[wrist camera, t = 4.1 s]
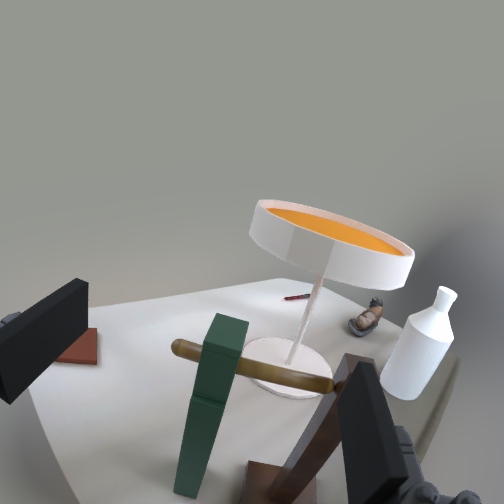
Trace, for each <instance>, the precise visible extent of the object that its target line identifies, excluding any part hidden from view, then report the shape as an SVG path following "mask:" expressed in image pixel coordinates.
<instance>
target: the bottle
mask: <svg viewBox="0 0 504 504" xmlns="http://www.w3.org/2000/svg"><path fill="white" fill-rule="evenodd" d="M456 297H457V294H456V293H455V292H454V291H452V290H450V289H448V288H446V287H442V286H440V287H439V289H438V291H437V297H436V299H435V301H434V304H433V306H431V307H429V308H427V309H425V310H423V311H420V312H418V313H415V314H412V315H410V316H409V317H408V319H407V322H406V324H405V326H404V328H403V330H402V333H401V335H400V337H399V339H398V341H397V343H396V345H395V347H394V349H393V351H392V353H391V355H390V357H389V359H388V361H387V363H386V365H385V367H384V369H383V371H382V373H381V374H380V383H381V385H382V387H383V388H384V389H385V390H386V391H387V392H388V393H390V394H391V395H393V396H394V397H397V398H399V399H402V400H414V399H416V398H417V397H418V396H419V395H420V393H421V392H422V390H423V389H424V387H425V386H426V384H427V383H428V381H429V380H430V378H431V376H432V375H433V373H434V372H435V370H436V368H437V367H438V365H439V363H440V362H441V360H442V358H443V357H444V355H445V353H446V352H447V350H448V348H449V346H450V344H451V343H452V341H453V339H454V337H453V333H452V330H451V327H450V322H449V318H448V314H447V313H448V311H449V308H450V307H451V304H452V302H453V301H455V299H456Z"/></svg>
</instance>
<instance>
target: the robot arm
mask: <svg viewBox="0 0 504 504" xmlns="http://www.w3.org/2000/svg"><path fill="white" fill-rule="evenodd" d="M87 330H88V282H85V281H83V280H80V279H78V278H75V279H74V280H72V281H71V282H69V283H67V284H66V285H64V286H63V287H61V288H60V289H58V290H56V291H55V292H53V293H52V294H50V295H49V296H47V297H46V298H44V299H42V300H41V301H39V302H38V303H36V304H35V305H33V306H32V307H30V308H29V309H27V310H26V311H24V312H23V313H20V312H17V313H13V314H10V315H8V316H7V317H5V318H3V319H2V320H1V321H0V398H1V399H2V400H4V401H5V402H6V403H8V404H9V405H10V404H11V403H12V402H13V401H14V400H15V399H16V398H17V397H18V396H19V395H20V394H21V393H22V392H23V391H24V390H25V389H26V388H27V387H28V386H29V385H30V384H31V383H32V382H33V381H34V380H35V379H36V378H37V377H38V376H39V375H41V374H42V373H43V372H44V371H45V370H46V369H47V368H48V367H49V366H50V365H51V364H52V363H53V362H54V361H55V360H56V359H57V358H58V357H59V356H60V355H61V354H62V353H63V352H64V351H66V350H67V349H68V348H69V347H70V346H71V345H72V344H73V343H74V342H75V341H76V340H77V339H78V338H79V337H81V336H82V335H83V334H84V333H85V332H86V331H87ZM336 405H337V412H338V419H339V426H340V433H341V441H342V448H343V456H344V465H345V473H346V483H347V492H348V502H349V504H481V500H480V498H479V496H478V495H477V494H475V493H474V492H472V491H467V490H465V491H462V492H461V493H460V494H458V495H457V496H456V497H450V496H445V495H440V494H439V492H438V490H437V488H436V487H435V486H434V485H432V484H431V483H429V482H426V481H425V480H424V477H423V474H422V471H421V467H420V464H419V461H418V458H417V455H416V454H415V449H414V447H413V443H412V440H411V437H410V435H409V433H408V432H407V431H406V430H405V428H404V427H403V426H394V423H393V420H392V417H391V414H390V411H389V408H388V405H387V402H386V399H385V396H384V393H383V390H382V387H381V384H380V381H379V378H378V375H377V373H376V370H375V367H374V364H373V363H369V362H364V361H358V363H357V365H356V367H355V369H354V371H353V373H352V375H351V377H350V379H349V380H348V382H347V384H346V386H345V388H344V390H343V392H342V393H341V395H340V397H339V399H338V401H337V402H336Z"/></svg>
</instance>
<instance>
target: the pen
mask: <svg viewBox="0 0 504 504" xmlns="http://www.w3.org/2000/svg"><path fill="white" fill-rule="evenodd" d="M310 295H311V294H305V295H300V296H292V297H285V298H284V299H285V300H292V299H299V298H305V297H310ZM294 297H297V298H294ZM287 298H290V299H287Z"/></svg>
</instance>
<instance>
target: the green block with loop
mask: <svg viewBox="0 0 504 504" xmlns="http://www.w3.org/2000/svg"><path fill="white" fill-rule="evenodd" d="M248 325H249V322H247V321H243V320H240V319H236V318H233V317H229V316H226V315H222V314H219V313H216V315H215V317H214V320H213V322H212V324H211V326H210V328H209V330H208V332H207V335H206V337H205V339H204V341H203V346H202V350H201V355H200V360H199V365H198V369H197V374H196V379H195V384H194V389H193V393H192V396H191V399H190V404H189V409H188V414H187V419H186V424H185V430H184V435H183V440H182V446H181V451H180V456H179V462H178V467H177V473H176V479H175V484H174V490H173V492H174V493H177V494H181V495H184V496H187V497H191V498H194V499H196V498H197V494H198V491H199V488H200V485H201V482H202V479H203V476H204V473H205V470H206V467H207V463H208V460H209V457H210V454H211V451H212V448H213V445H214V441H215V438H216V435H217V432H218V429H219V425H220V422H221V419H222V416H223V413H224V409H225V406H226V402H227V399H228V396H229V392H230V389H231V386H232V383H233V379H234V376H235V373H236V369H237V366H238V363H239V359H240V356H241V353H242V349H243V345H244V341H245V337H246V333H247V329H248Z"/></svg>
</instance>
